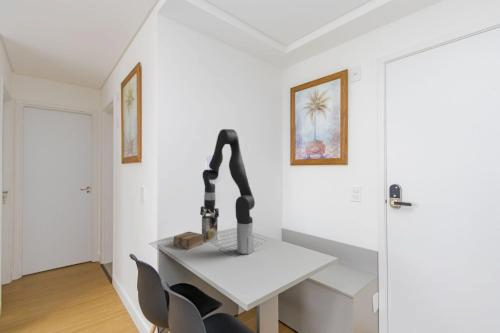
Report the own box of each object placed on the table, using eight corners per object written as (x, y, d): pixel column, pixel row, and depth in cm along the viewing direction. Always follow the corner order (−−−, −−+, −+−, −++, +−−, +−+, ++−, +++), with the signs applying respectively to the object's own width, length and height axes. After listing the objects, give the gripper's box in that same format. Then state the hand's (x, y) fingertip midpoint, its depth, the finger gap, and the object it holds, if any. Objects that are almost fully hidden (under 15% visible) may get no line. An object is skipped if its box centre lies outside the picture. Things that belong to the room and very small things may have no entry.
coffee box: (212, 237, 169) (213, 214, 169) (217, 239, 164) (218, 216, 164) (201, 239, 163) (201, 216, 163) (205, 242, 158) (206, 218, 158)
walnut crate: (203, 243, 155) (203, 234, 155) (188, 249, 144) (188, 239, 144) (188, 240, 162) (188, 231, 162) (173, 245, 151) (173, 236, 151)
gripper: (221, 199, 163) (220, 222, 163) (205, 197, 170) (204, 220, 170) (214, 200, 156) (213, 225, 157) (198, 198, 164) (197, 222, 164)
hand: (209, 222), depth 163 cm, fingers open, 8 cm apart
